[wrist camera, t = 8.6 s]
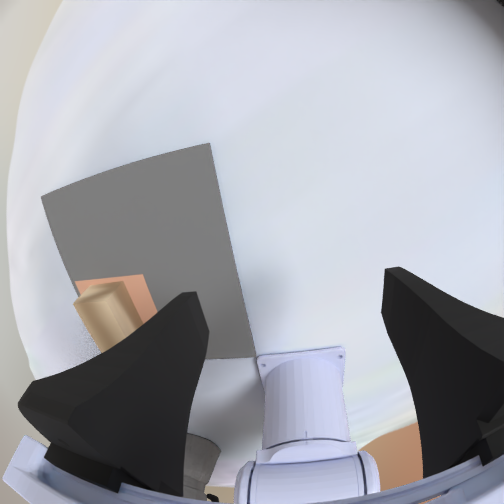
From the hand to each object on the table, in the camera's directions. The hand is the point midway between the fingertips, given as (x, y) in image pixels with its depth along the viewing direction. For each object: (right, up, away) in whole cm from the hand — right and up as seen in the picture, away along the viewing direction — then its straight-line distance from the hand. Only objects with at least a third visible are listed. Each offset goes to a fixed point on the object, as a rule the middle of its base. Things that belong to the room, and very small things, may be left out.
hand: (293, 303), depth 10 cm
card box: (-13, -4, +13) cm, 19 cm away
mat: (-11, 0, +11) cm, 16 cm away
